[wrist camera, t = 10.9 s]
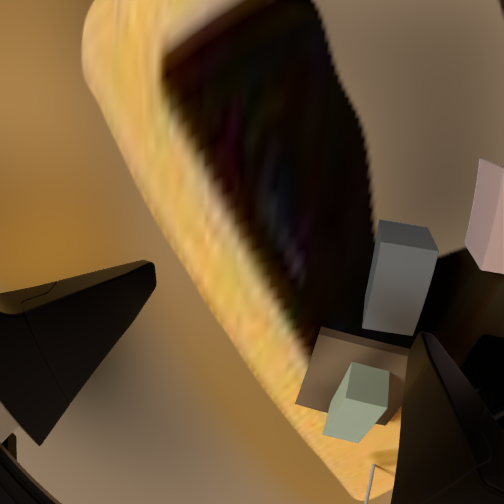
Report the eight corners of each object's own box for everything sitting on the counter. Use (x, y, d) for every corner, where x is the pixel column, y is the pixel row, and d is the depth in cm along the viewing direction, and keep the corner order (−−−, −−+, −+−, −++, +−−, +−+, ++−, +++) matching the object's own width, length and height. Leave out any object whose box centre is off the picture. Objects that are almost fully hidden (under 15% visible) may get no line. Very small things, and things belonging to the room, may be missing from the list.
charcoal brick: (427, 227, 18) (438, 251, 14) (408, 302, 20) (412, 335, 17) (378, 219, 19) (380, 241, 15) (365, 295, 21) (362, 328, 18)
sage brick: (389, 371, 22) (387, 407, 19) (363, 410, 25) (358, 443, 21) (351, 361, 23) (345, 397, 20) (330, 401, 26) (322, 434, 22)
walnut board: (430, 353, 21) (431, 361, 20) (386, 418, 26) (385, 425, 25) (321, 326, 24) (319, 334, 23) (297, 396, 28) (295, 403, 28)
